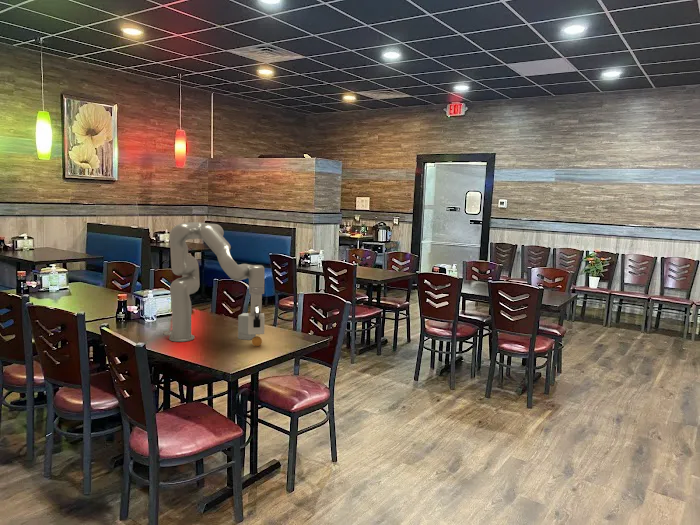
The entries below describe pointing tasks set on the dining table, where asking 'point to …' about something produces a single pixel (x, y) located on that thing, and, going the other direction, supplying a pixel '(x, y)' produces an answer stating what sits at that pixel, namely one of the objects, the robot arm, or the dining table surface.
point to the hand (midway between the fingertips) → (256, 325)
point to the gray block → (259, 329)
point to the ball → (256, 341)
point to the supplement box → (244, 327)
